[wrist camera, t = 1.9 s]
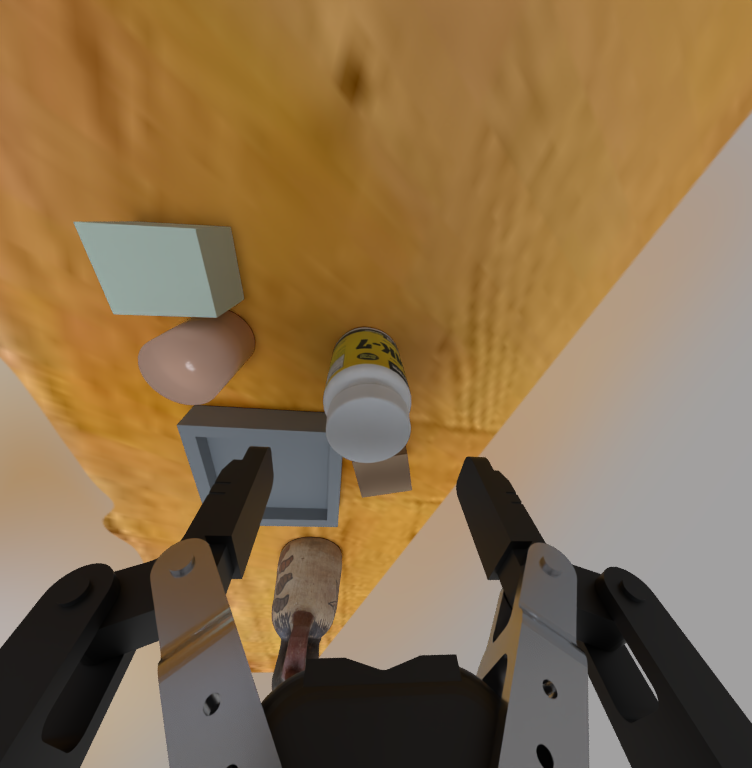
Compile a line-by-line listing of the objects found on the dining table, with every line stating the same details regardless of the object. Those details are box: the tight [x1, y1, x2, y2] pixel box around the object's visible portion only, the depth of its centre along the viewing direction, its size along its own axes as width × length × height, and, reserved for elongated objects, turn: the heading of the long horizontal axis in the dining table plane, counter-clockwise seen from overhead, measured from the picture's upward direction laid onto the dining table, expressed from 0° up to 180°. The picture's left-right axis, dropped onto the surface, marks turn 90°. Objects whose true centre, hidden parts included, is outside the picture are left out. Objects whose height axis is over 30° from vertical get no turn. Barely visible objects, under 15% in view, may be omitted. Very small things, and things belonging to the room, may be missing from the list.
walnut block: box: [352, 446, 412, 497], centre depth 23 cm, size 4×4×4 cm
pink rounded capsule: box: [138, 311, 255, 405], centre depth 17 cm, size 4×4×5 cm
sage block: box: [74, 221, 244, 318], centre depth 15 cm, size 4×5×4 cm
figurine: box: [272, 537, 342, 691], centre depth 28 cm, size 7×7×12 cm
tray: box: [177, 405, 342, 527], centre depth 24 cm, size 12×12×2 cm
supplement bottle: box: [323, 327, 411, 463], centre depth 16 cm, size 5×5×8 cm
